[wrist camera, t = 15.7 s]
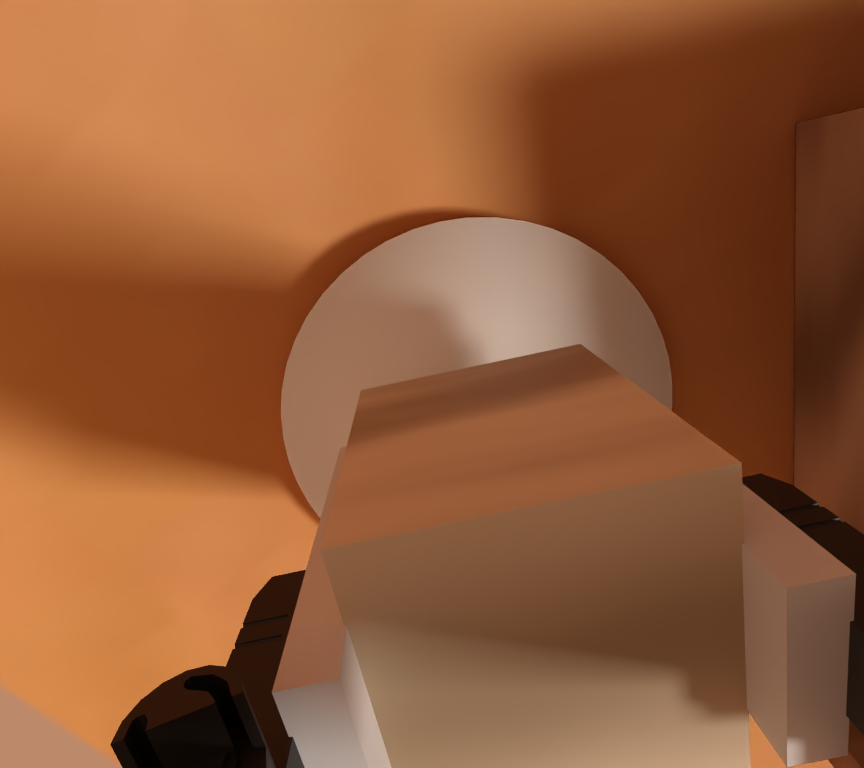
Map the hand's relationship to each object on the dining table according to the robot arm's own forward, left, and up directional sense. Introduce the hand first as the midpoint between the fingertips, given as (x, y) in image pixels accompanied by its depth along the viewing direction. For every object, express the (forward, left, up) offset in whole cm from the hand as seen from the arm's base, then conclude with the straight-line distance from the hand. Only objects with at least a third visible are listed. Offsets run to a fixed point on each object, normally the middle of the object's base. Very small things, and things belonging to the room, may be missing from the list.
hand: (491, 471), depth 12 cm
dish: (0, 0, -4) cm, 4 cm away
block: (0, 0, 0) cm, 0 cm away
